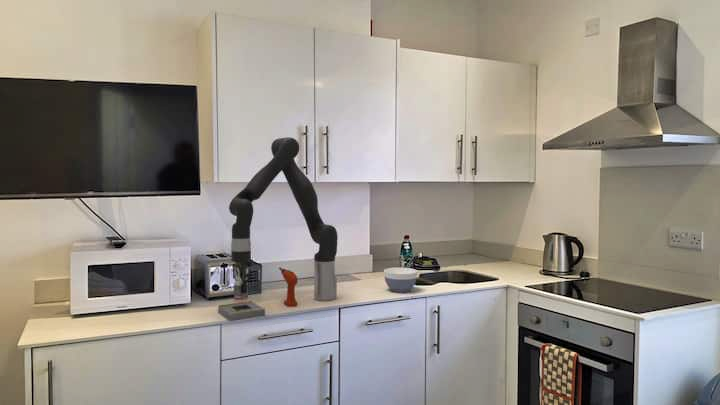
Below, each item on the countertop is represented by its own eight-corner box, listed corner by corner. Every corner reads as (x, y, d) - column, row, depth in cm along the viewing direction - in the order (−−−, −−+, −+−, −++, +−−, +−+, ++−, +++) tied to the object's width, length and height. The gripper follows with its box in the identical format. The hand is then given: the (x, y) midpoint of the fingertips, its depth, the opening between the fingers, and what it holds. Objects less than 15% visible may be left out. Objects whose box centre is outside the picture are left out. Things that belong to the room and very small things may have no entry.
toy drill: (283, 293, 230) (285, 261, 227) (299, 308, 213) (300, 273, 211) (273, 294, 227) (274, 262, 225) (288, 309, 211) (289, 275, 209)
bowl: (422, 289, 246) (423, 269, 245) (407, 295, 232) (407, 275, 232) (394, 285, 254) (394, 266, 254) (377, 291, 241) (377, 271, 241)
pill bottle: (244, 302, 197) (244, 277, 197) (231, 301, 198) (231, 276, 198) (250, 299, 203) (250, 274, 202) (237, 298, 204) (237, 274, 203)
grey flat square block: (251, 307, 211) (251, 300, 210) (264, 315, 199) (264, 308, 199) (218, 312, 203) (218, 305, 203) (230, 320, 191) (230, 313, 191)
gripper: (257, 251, 196) (256, 294, 196) (243, 246, 208) (243, 287, 208) (238, 252, 191) (238, 296, 192) (225, 247, 203) (225, 289, 204)
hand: (241, 291), depth 200 cm, fingers closed on pill bottle, 5 cm apart
